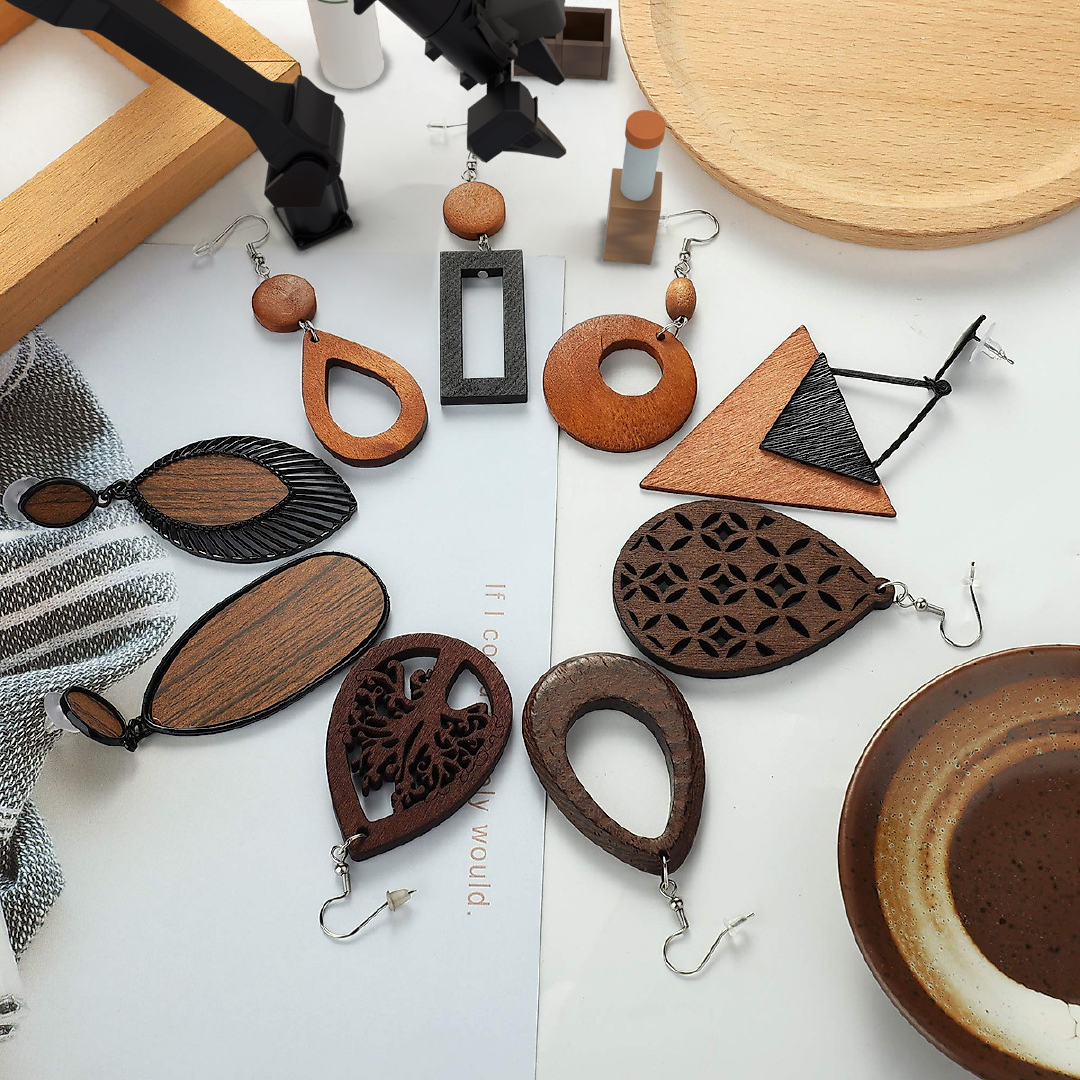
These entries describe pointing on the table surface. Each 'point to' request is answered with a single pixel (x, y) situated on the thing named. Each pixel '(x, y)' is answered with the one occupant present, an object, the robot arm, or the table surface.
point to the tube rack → (581, 44)
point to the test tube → (641, 153)
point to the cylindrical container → (347, 43)
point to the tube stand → (631, 223)
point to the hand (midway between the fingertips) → (562, 117)
